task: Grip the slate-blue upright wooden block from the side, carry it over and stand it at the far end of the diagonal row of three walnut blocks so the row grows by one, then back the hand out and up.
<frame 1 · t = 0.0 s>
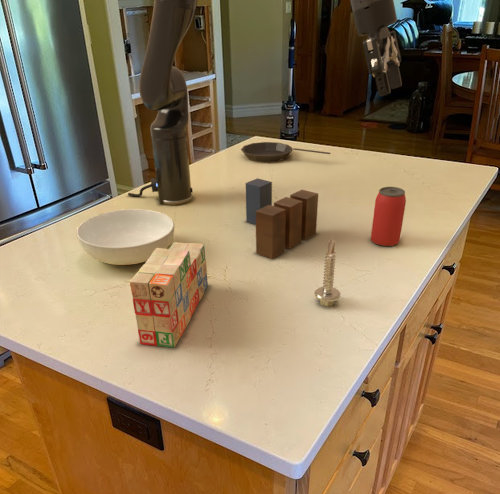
hand: (391, 91, 104), 31 cm above the counter, tool tilted 20°, fingers open, 8 cm apart
frying pan: (285, 159, 175), on the counter
screw: (326, 303, 97), on the counter
beer can: (384, 242, 119), on the counter
line block 1: (302, 234, 123), on the counter
line block 2: (287, 243, 119), on the counter
stack of blocks: (177, 313, 95), on the counter
line block 3: (270, 252, 115), on the counter
serving bowl: (130, 255, 115), on the counter
block: (259, 221, 130), on the counter
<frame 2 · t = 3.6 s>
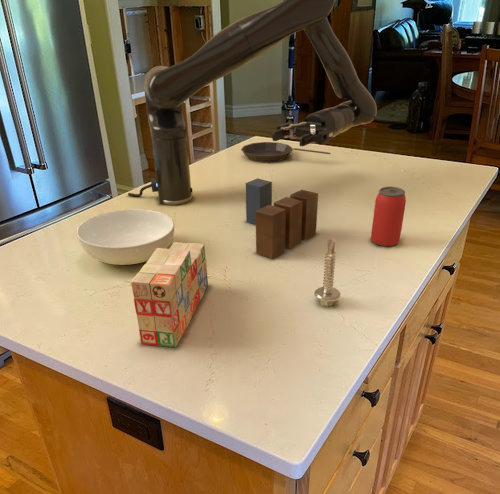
hand: (286, 139, 126), 18 cm above the counter, tool horizontal, fingers open, 8 cm apart
nothing on the counter moved.
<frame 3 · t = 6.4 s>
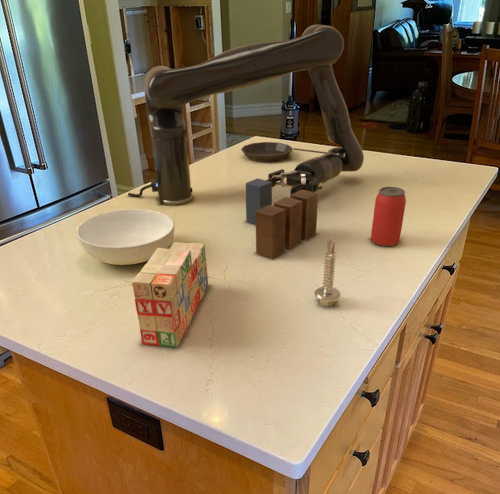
hand: (278, 188, 131), 6 cm above the counter, tool horizontal, fingers open, 8 cm apart
nothing on the counter moved.
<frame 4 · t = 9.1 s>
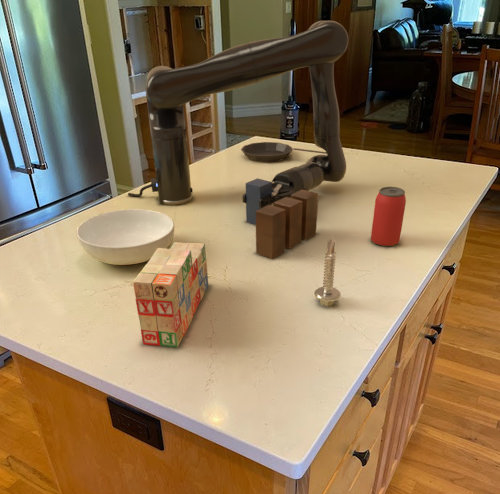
hand: (252, 201, 125), 6 cm above the counter, tool horizontal, fingers closed on block, 4 cm apart
block: (259, 221, 130), on the counter, touching gripper
everything else where it was.
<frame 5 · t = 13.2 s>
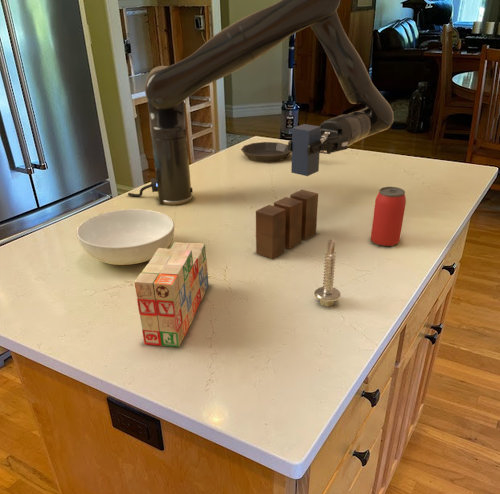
hand: (299, 148, 115), 19 cm above the counter, tool horizontal, fingers closed on block, 4 cm apart
block: (304, 172, 120), point 13 cm above the counter, touching gripper
everything else where it was.
when the fingers open (6 cm above the counter, at t = 17.6 s): block stays where it is, on the counter.
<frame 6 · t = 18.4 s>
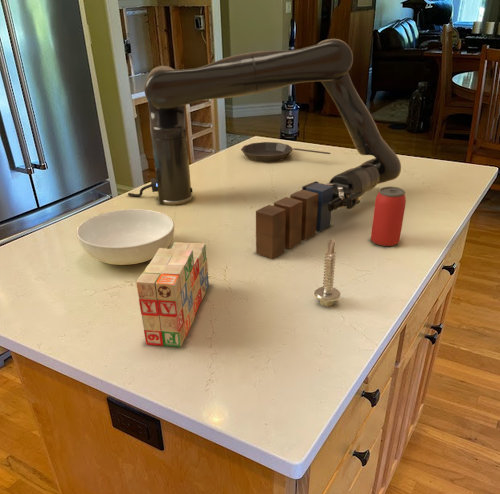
hand: (314, 203, 122), 7 cm above the counter, tool horizontal, fingers open, 8 cm apart
block: (317, 226, 127), on the counter
everything else where it was.
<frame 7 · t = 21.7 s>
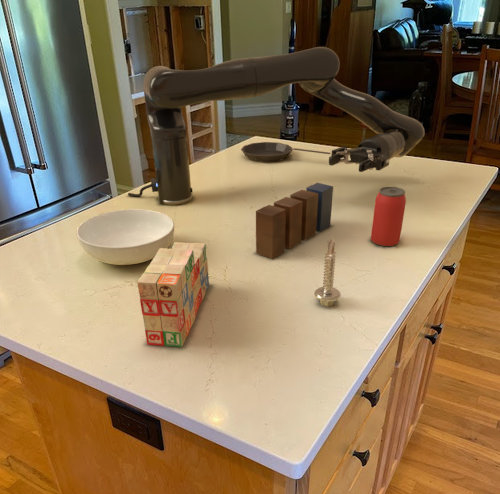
hand: (345, 164, 126), 13 cm above the counter, tool horizontal, fingers open, 8 cm apart
nothing on the counter moved.
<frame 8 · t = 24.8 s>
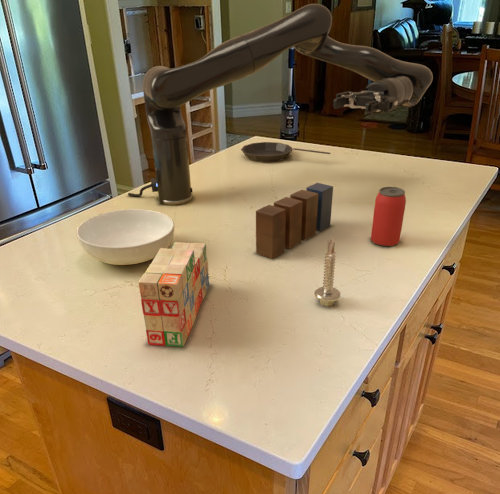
hand: (350, 106, 119), 26 cm above the counter, tool horizontal, fingers open, 8 cm apart
nothing on the counter moved.
at the end: block 0.1 cm from the target spot on the counter beside the line block 1, on the counter; block tilted 0°; line block 1 moved 0.0 cm from its start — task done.
